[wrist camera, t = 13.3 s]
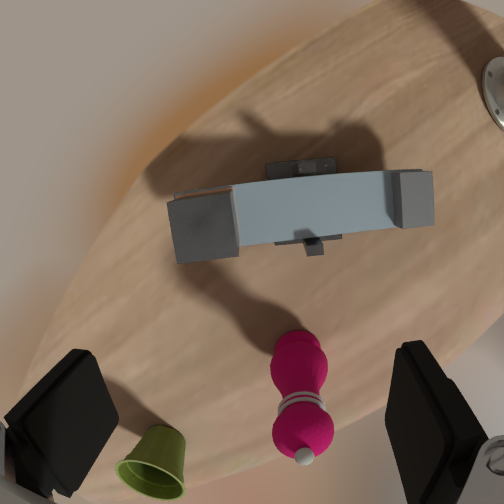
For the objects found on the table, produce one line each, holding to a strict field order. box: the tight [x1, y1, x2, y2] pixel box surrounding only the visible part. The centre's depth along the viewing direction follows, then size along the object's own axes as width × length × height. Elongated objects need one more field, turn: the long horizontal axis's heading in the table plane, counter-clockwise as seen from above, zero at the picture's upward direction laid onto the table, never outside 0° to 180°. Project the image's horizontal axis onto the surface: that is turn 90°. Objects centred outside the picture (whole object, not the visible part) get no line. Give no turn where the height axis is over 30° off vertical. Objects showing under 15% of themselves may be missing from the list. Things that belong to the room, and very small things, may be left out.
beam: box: [174, 169, 434, 246], centre depth 31 cm, size 26×6×4 cm, turn 97°
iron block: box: [167, 189, 240, 264], centre depth 28 cm, size 5×5×6 cm
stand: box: [266, 157, 342, 256], centre depth 33 cm, size 8×10×8 cm
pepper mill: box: [270, 331, 334, 465], centre depth 33 cm, size 7×7×20 cm
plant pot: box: [115, 425, 186, 501], centre depth 44 cm, size 12×12×11 cm
